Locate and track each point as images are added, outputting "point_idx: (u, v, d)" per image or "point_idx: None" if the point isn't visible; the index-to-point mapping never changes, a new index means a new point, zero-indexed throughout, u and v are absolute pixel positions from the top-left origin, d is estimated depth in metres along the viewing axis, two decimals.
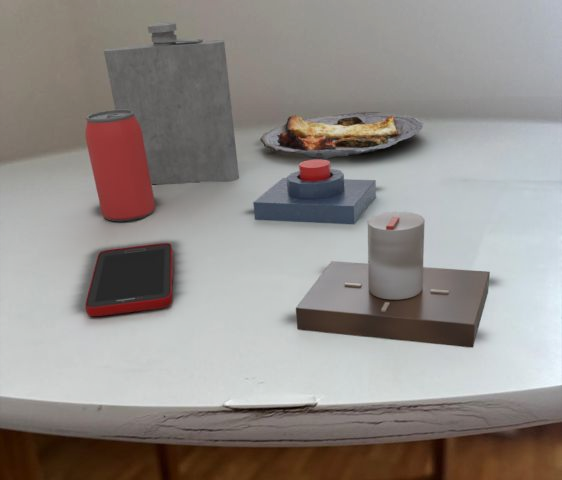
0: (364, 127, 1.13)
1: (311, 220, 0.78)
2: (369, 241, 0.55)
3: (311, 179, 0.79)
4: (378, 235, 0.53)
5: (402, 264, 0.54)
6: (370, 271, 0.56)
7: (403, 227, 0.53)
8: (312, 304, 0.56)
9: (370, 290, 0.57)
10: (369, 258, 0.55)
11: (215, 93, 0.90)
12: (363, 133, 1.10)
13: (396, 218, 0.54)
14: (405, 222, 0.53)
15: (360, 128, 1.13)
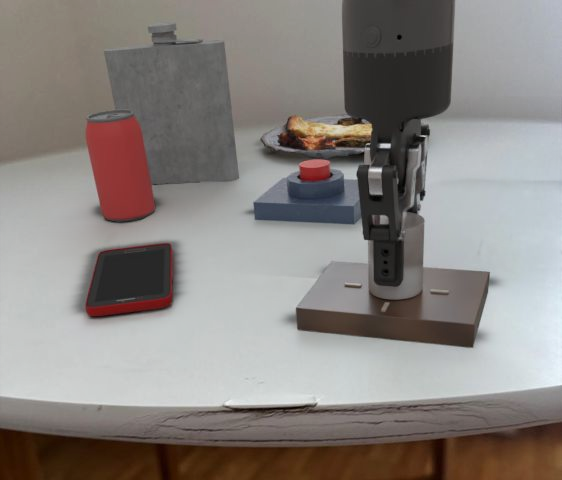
0: (364, 127, 1.13)
1: (311, 220, 0.78)
2: (369, 241, 0.55)
3: (311, 179, 0.79)
4: None
5: None
6: (370, 271, 0.56)
7: None
8: (312, 304, 0.56)
9: (370, 290, 0.57)
10: (369, 258, 0.55)
11: (215, 93, 0.90)
12: (363, 133, 1.10)
13: None
14: None
15: (360, 128, 1.13)
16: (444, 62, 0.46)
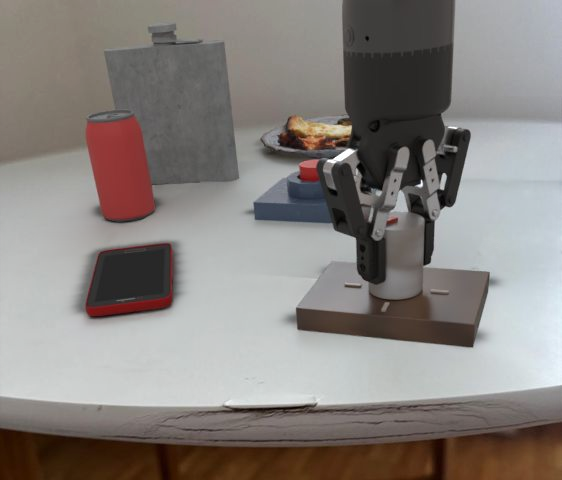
0: None
1: (311, 220, 0.78)
2: None
3: (311, 179, 0.79)
4: None
5: None
6: None
7: (389, 228, 0.53)
8: (312, 304, 0.56)
9: None
10: None
11: (215, 93, 0.90)
12: None
13: (393, 218, 0.54)
14: (399, 224, 0.53)
15: None
16: (419, 67, 0.45)
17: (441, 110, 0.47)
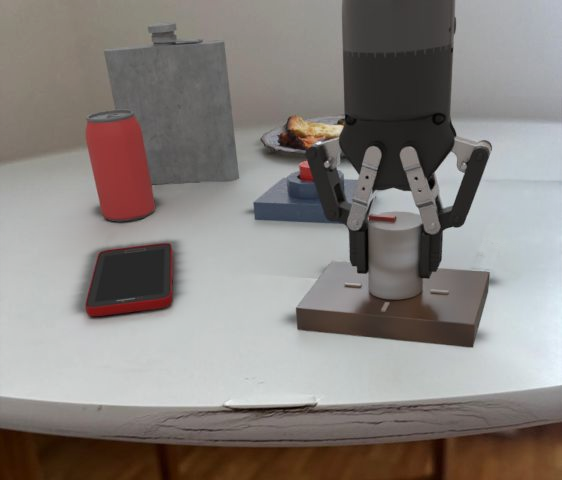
0: None
1: (311, 220, 0.78)
2: None
3: (311, 179, 0.79)
4: None
5: (368, 256, 0.56)
6: None
7: (373, 222, 0.54)
8: (312, 304, 0.56)
9: None
10: None
11: (215, 93, 0.90)
12: None
13: (390, 216, 0.54)
14: (387, 223, 0.54)
15: None
16: (364, 69, 0.46)
17: (394, 117, 0.47)
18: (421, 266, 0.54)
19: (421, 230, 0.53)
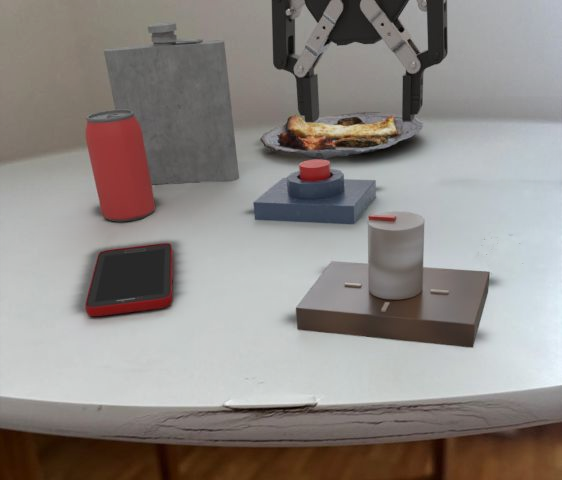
0: (364, 127, 1.13)
1: (311, 220, 0.78)
2: None
3: (311, 179, 0.79)
4: None
5: (368, 256, 0.56)
6: None
7: (373, 222, 0.54)
8: (312, 304, 0.56)
9: None
10: None
11: (215, 93, 0.90)
12: (363, 133, 1.10)
13: (390, 217, 0.54)
14: (387, 223, 0.54)
15: (360, 128, 1.13)
16: None
17: None
18: (403, 108, 0.57)
19: (421, 230, 0.53)
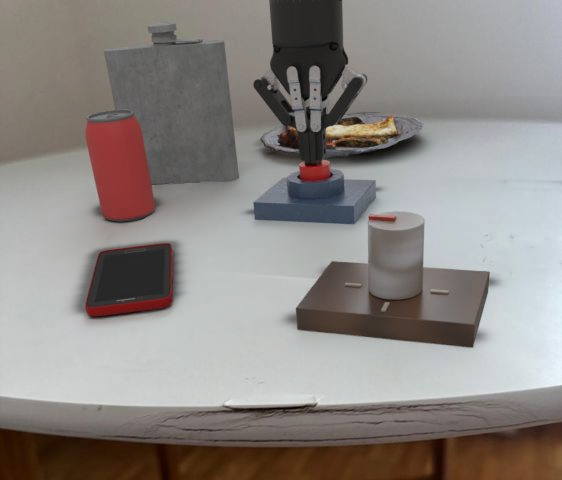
0: (364, 127, 1.13)
1: (311, 220, 0.78)
2: None
3: (311, 179, 0.79)
4: None
5: (368, 256, 0.56)
6: None
7: (373, 222, 0.54)
8: (312, 304, 0.56)
9: None
10: None
11: (215, 93, 0.90)
12: (363, 133, 1.10)
13: (390, 217, 0.54)
14: (387, 223, 0.54)
15: (360, 128, 1.13)
16: (281, 11, 0.69)
17: (302, 44, 0.70)
18: (311, 156, 0.79)
19: (421, 230, 0.53)
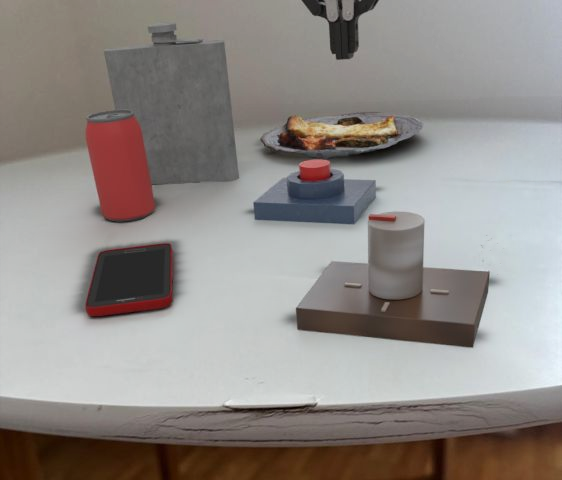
0: (364, 127, 1.13)
1: (311, 220, 0.78)
2: None
3: (311, 179, 0.79)
4: None
5: (368, 256, 0.56)
6: None
7: (373, 222, 0.54)
8: (312, 304, 0.56)
9: None
10: None
11: (215, 93, 0.90)
12: (363, 133, 1.10)
13: (390, 217, 0.54)
14: (387, 223, 0.54)
15: (360, 128, 1.13)
16: None
17: None
18: (342, 48, 0.74)
19: (421, 230, 0.53)
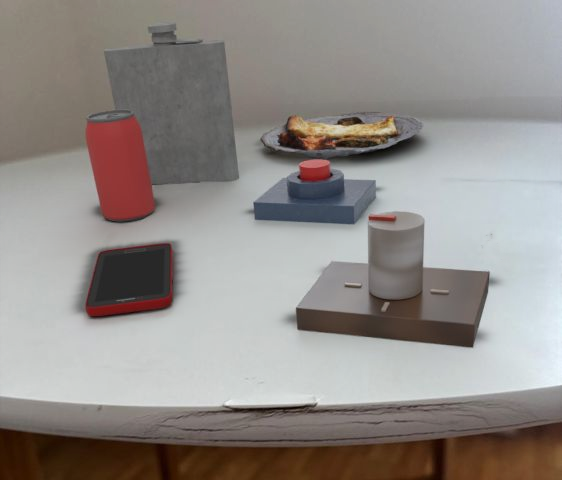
0: (364, 127, 1.13)
1: (311, 220, 0.78)
2: None
3: (311, 179, 0.79)
4: None
5: (368, 256, 0.56)
6: None
7: (373, 222, 0.54)
8: (312, 304, 0.56)
9: None
10: None
11: (215, 93, 0.90)
12: (363, 133, 1.10)
13: (390, 217, 0.54)
14: (387, 223, 0.54)
15: (360, 128, 1.13)
16: None
17: None
18: None
19: (421, 230, 0.53)
